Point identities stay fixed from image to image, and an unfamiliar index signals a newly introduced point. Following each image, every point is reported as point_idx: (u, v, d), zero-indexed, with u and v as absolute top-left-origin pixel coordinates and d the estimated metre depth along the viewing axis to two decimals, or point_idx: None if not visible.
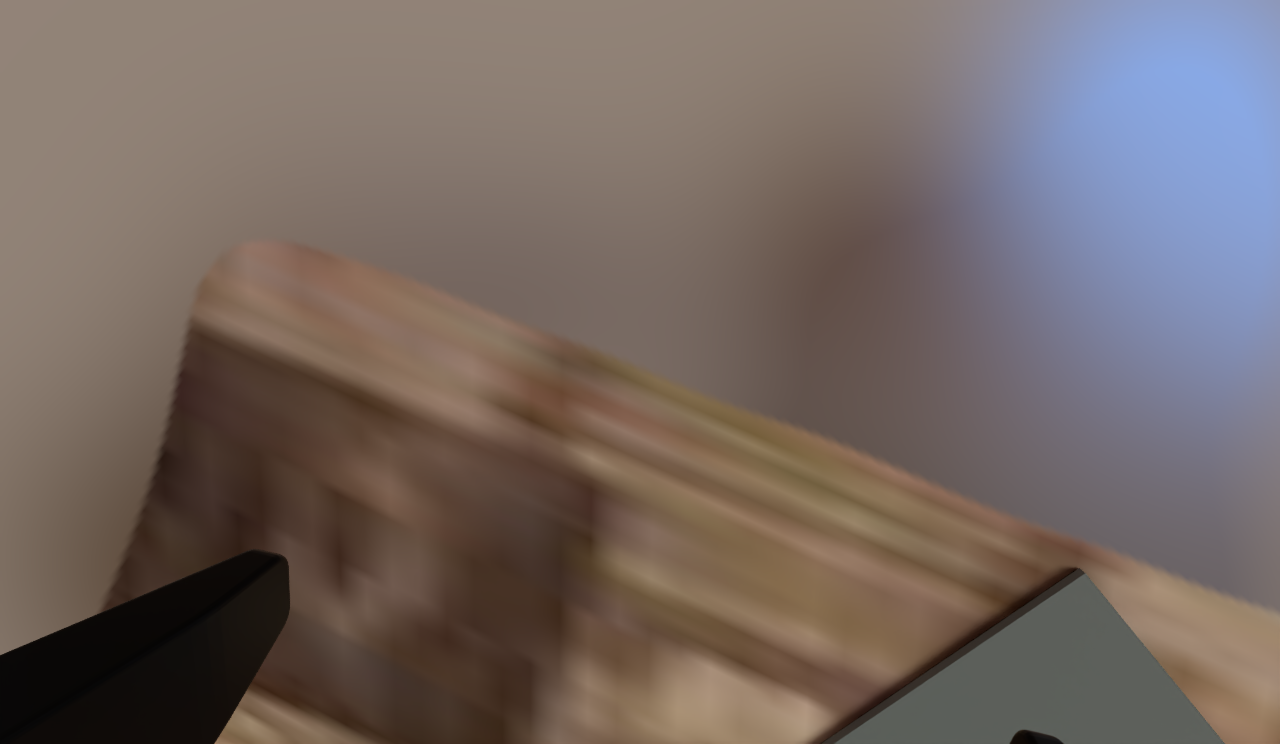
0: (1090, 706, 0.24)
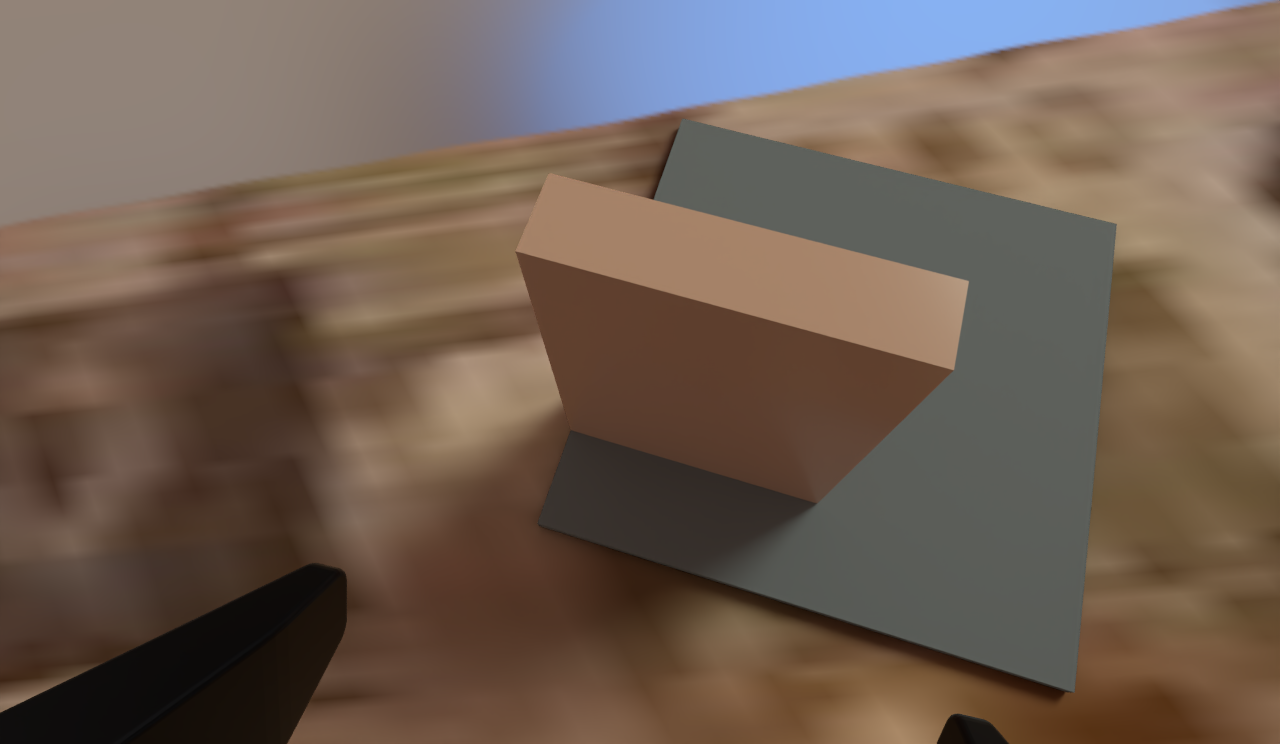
0: (764, 196, 0.27)
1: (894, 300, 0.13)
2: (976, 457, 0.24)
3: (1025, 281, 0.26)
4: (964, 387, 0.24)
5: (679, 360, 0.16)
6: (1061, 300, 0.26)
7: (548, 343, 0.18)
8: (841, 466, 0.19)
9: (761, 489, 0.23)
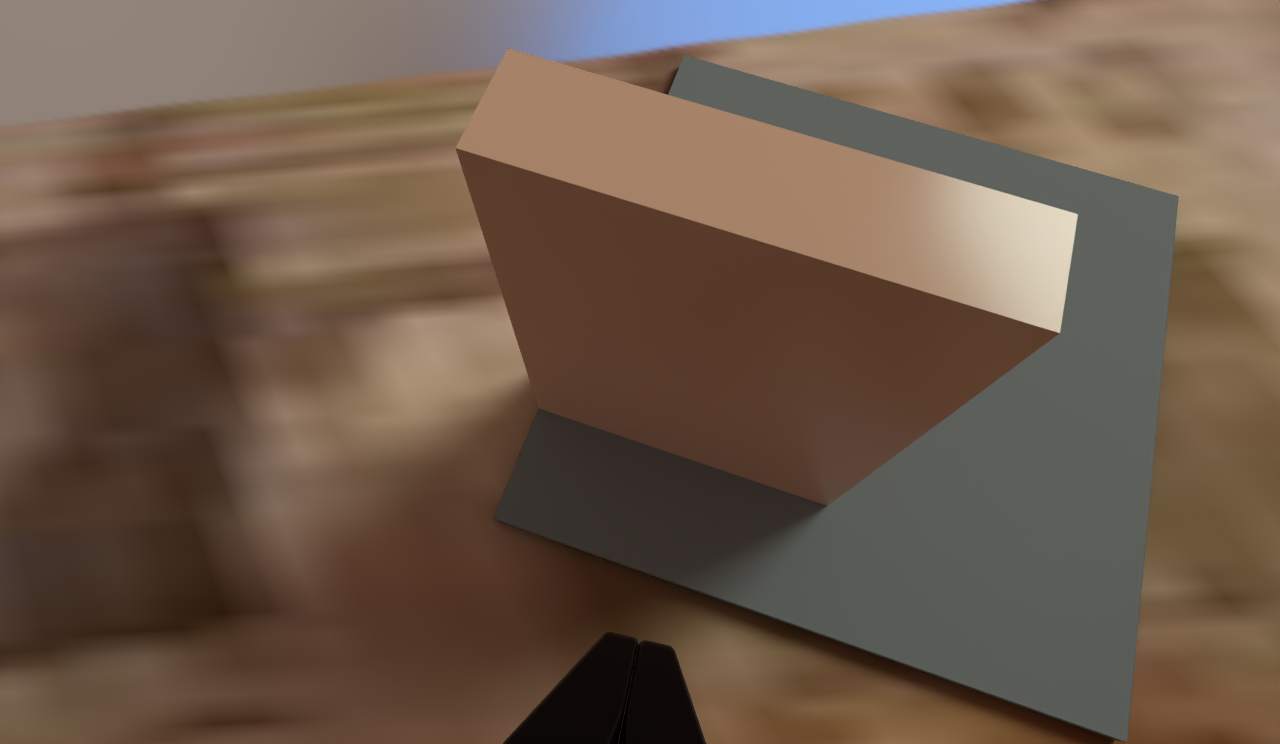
0: None
1: (976, 235, 0.10)
2: (1015, 458, 0.20)
3: (1074, 256, 0.22)
4: None
5: (674, 317, 0.12)
6: (1115, 280, 0.22)
7: (506, 292, 0.14)
8: (866, 463, 0.16)
9: (761, 486, 0.20)
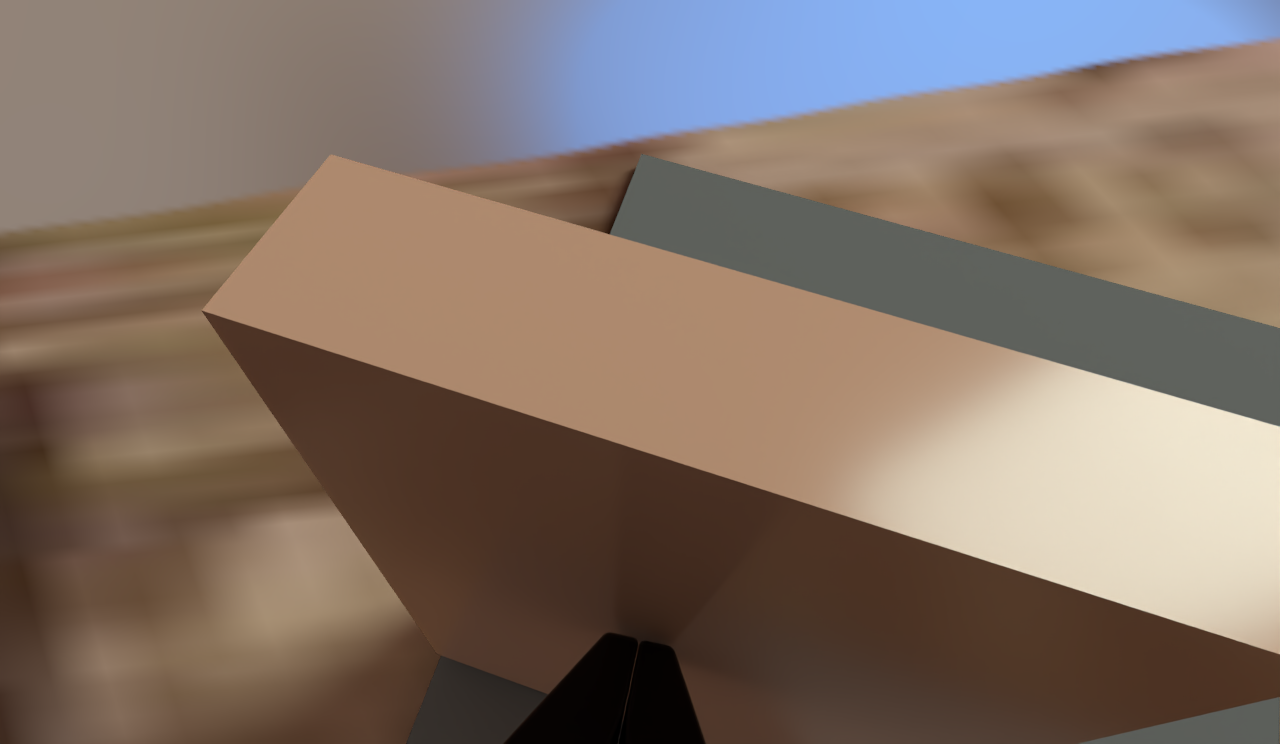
0: (758, 273, 0.18)
1: (1146, 474, 0.05)
2: None
3: None
4: None
5: (607, 578, 0.08)
6: None
7: (354, 525, 0.09)
8: None
9: None
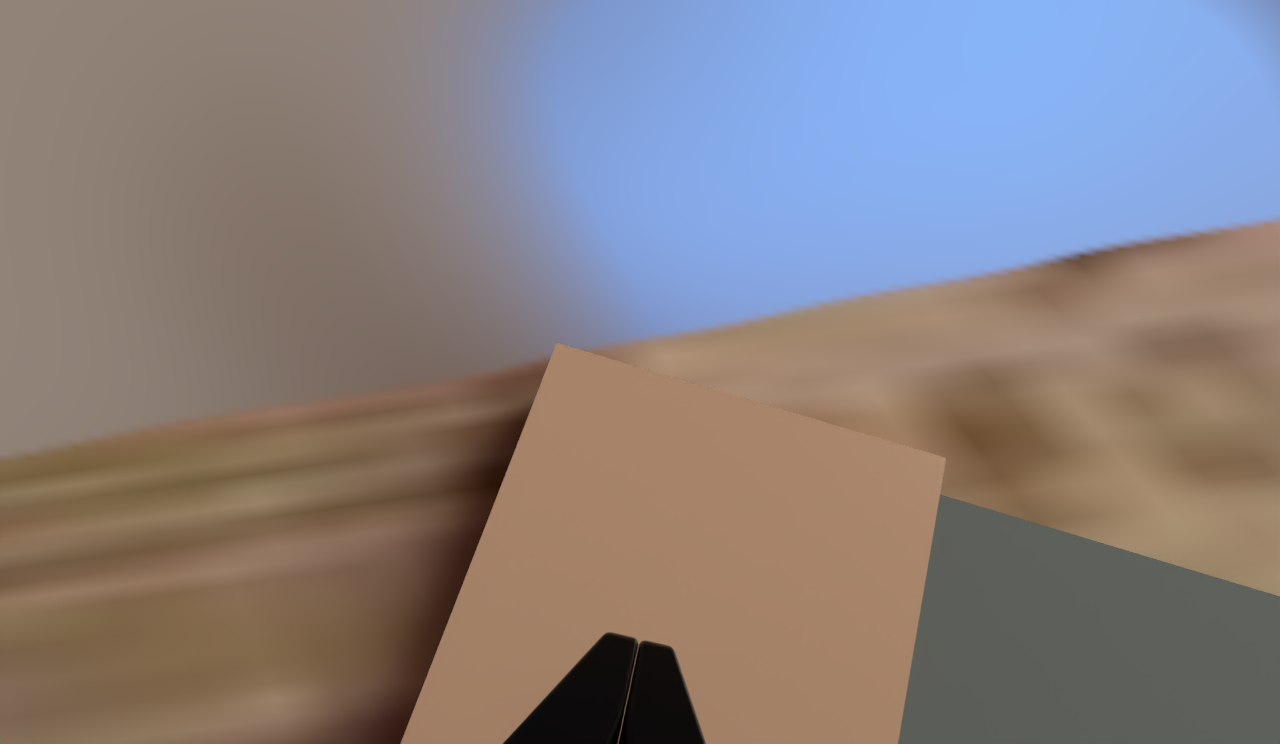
0: None
1: None
2: None
3: (1146, 723, 0.15)
4: None
5: (666, 529, 0.14)
6: None
7: (486, 539, 0.14)
8: None
9: None
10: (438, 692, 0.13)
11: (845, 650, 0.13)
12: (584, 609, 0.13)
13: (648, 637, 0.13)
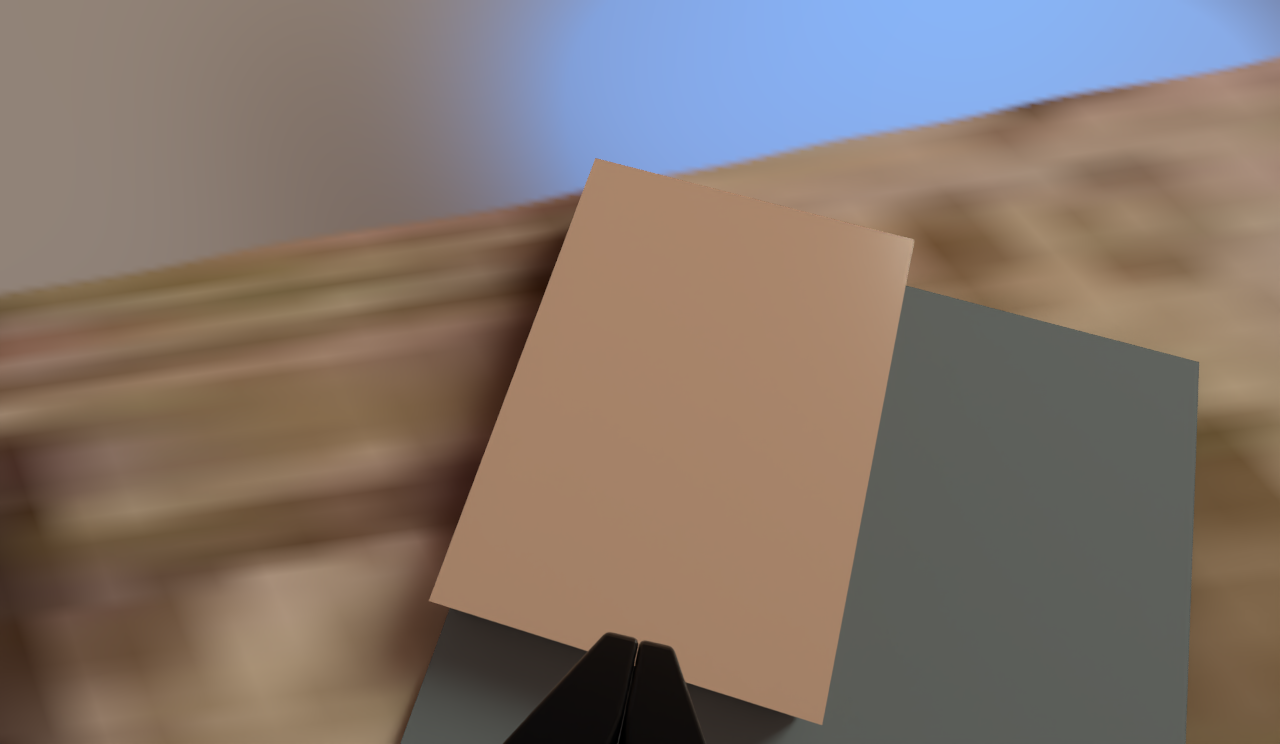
0: None
1: None
2: (1013, 737, 0.16)
3: (1076, 451, 0.18)
4: (994, 621, 0.17)
5: (690, 294, 0.17)
6: (1127, 480, 0.18)
7: (545, 303, 0.17)
8: (849, 511, 0.16)
9: None
10: (513, 412, 0.16)
11: (834, 378, 0.17)
12: (626, 352, 0.17)
13: (678, 371, 0.17)
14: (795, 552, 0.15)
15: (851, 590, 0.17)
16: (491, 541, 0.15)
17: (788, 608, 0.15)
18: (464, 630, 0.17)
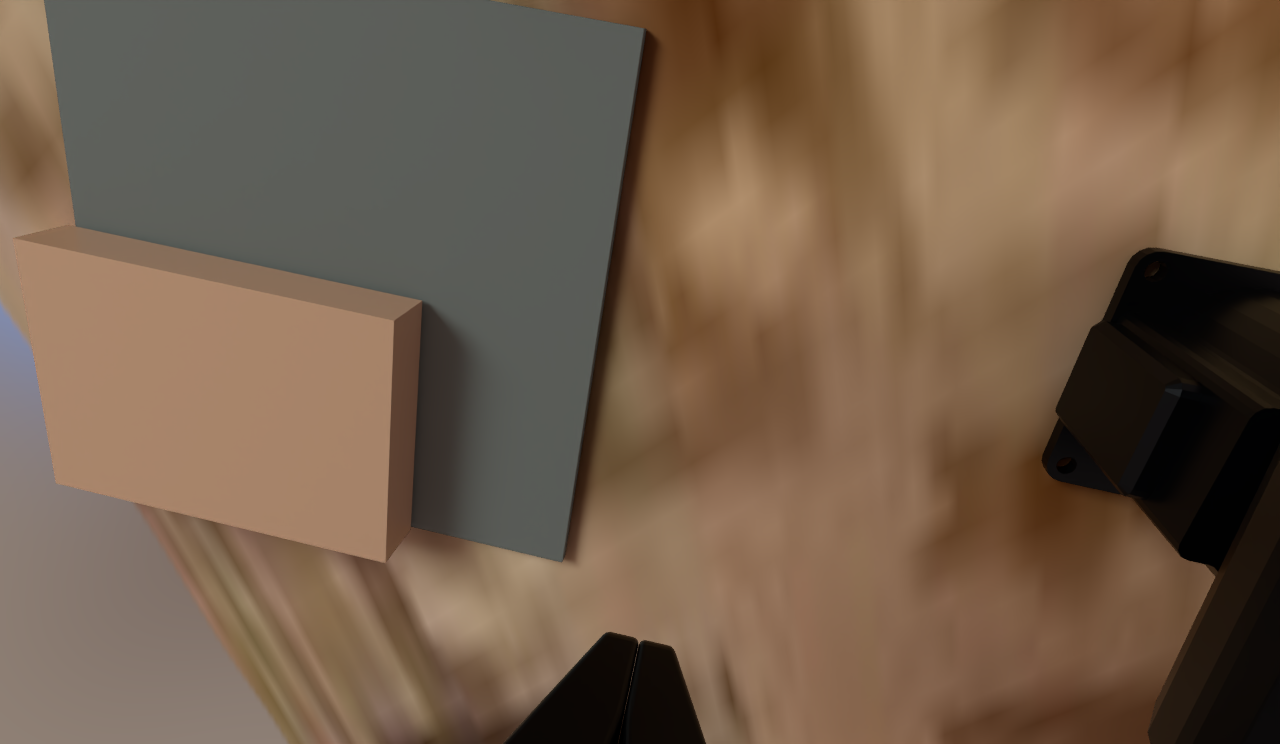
0: None
1: None
2: (400, 133, 0.20)
3: (161, 58, 0.20)
4: (320, 144, 0.20)
5: (131, 413, 0.22)
6: (170, 9, 0.20)
7: (176, 509, 0.24)
8: (247, 298, 0.20)
9: (488, 369, 0.22)
10: (256, 524, 0.23)
11: (153, 306, 0.21)
12: (190, 455, 0.23)
13: (190, 420, 0.22)
14: (287, 337, 0.21)
15: (330, 259, 0.22)
16: (340, 531, 0.23)
17: (326, 343, 0.20)
18: (424, 517, 0.25)
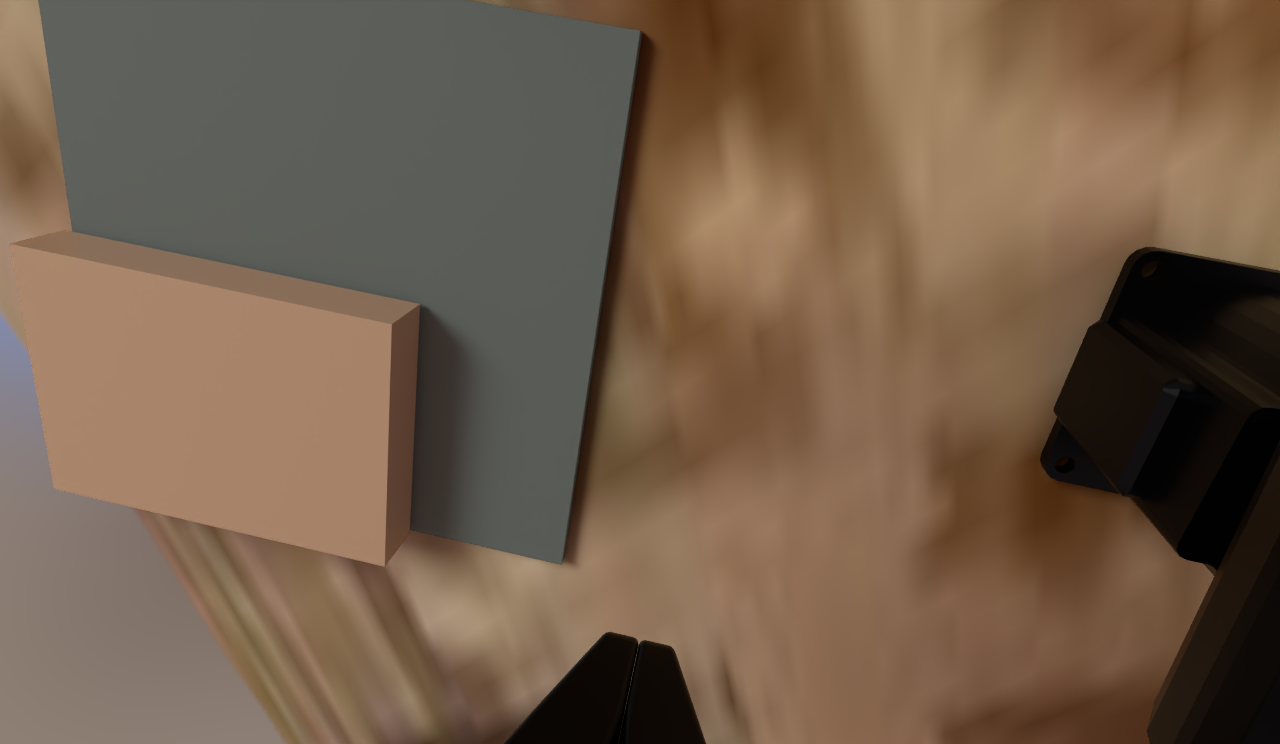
0: None
1: None
2: (397, 136, 0.20)
3: (156, 62, 0.20)
4: (316, 148, 0.20)
5: (128, 418, 0.22)
6: (165, 13, 0.20)
7: (175, 514, 0.23)
8: (244, 302, 0.20)
9: (486, 372, 0.22)
10: (255, 528, 0.23)
11: (150, 311, 0.21)
12: (188, 460, 0.23)
13: (188, 425, 0.22)
14: (285, 342, 0.21)
15: (327, 263, 0.22)
16: (339, 535, 0.23)
17: (323, 347, 0.20)
18: (423, 520, 0.25)
